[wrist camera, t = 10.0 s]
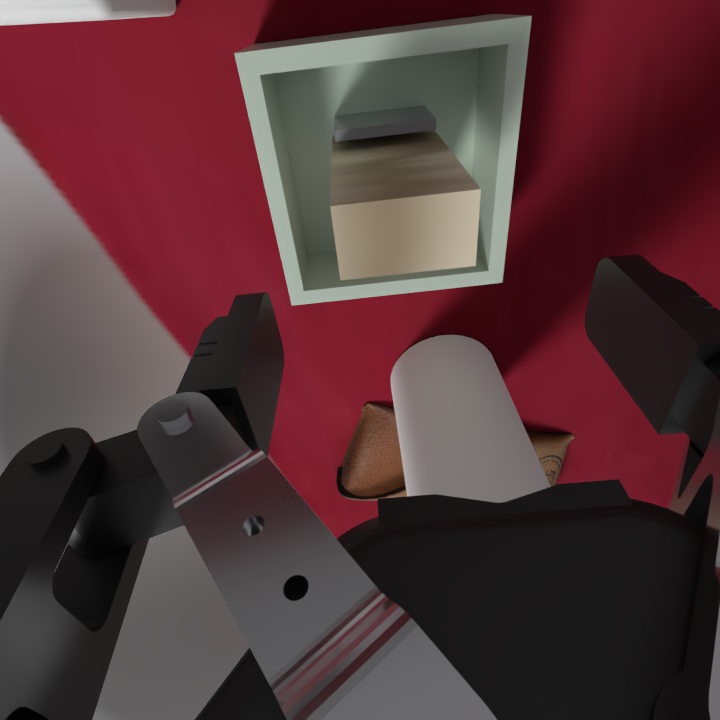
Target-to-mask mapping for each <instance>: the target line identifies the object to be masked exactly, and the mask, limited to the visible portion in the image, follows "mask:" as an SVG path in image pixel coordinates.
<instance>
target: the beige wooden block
mask: <svg viewBox="0 0 720 720" xmlns="http://www.w3.org/2000/svg"><path fill="white" fill-rule="evenodd" d="M480 197H481V189H480V187H479V186H478V185H477V183H476V182H475V181H474V180H473V178H472V177H471V176H470V175H469V173H468V172H467V171H466V169H465V168H464V167H463V166H462V164H461V163H460V162H459V160H458V159H457V158H456V157H455V155H454V154H453V153H452V152H451V150H450V149H449V148H448V146H447V145H446V144H445V143H444V141H443V140H442V139H441V138H440V136H439V135H438V134H437V132H436V131H435V130H431V131H422V132H414V133H406V134H397V135H389V136H380V137H372V138H364V139H355V140H347V141H338V142H336V141H335V137H332V163H331V193H330V209H331V216H332V224H333V231H334V238H335V245H336V252H337V259H338V266H339V273H340V280H350V279H359V278H368V277H378V276H387V275H396V274H406V273H415V272H424V271H433V270H443V269H452V268H461V267H470V266H476V254H477V240H478V226H479V211H480Z"/></svg>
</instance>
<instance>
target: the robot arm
mask: <svg viewBox="0 0 720 720" xmlns="http://www.w3.org/2000/svg"><path fill="white" fill-rule="evenodd" d="M585 329H586V333H587V336H588V338H589V339H590V341H591V342H592V344H593V345H594V346H595V348H596V349H597V350H598V352H599V353H600V355H601V356H602V357H603V359H604V360H605V361H606V363H607V364H608V366H609V367H610V368H611V370H612V371H613V372H614V374H615V375H616V376H617V378H618V379H619V381H620V382H621V383H622V385H623V386H624V387H625V389H626V390H627V392H628V393H629V394H630V396H631V397H632V398H633V400H634V401H635V403H636V404H637V405H638V407H639V408H640V409H641V411H642V412H643V414H644V415H645V416H646V418H647V419H648V420H649V422H650V423H651V424H652V426H653V427H654V429H655V430H656V431H657V433H658V434H659V435H661V434H673V433H686V434H687V435H688V437H689V439H688V441H687V443H686V445H685V447H684V449H683V453H682V457H681V462H680V466H679V470H678V475H677V479H676V483H675V488H674V492H673V496H672V501H671V505H670V509H667V508H664V507H661V506H658V505H655V504H652V503H647V502H643V501H639V500H635V499H630V498H629V496H628V495H627V493H626V491H625V489H624V488H623V486H622V484H621V482H620V481H619V479H618V480H606V481H593V482H581V483H568V484H558V485H555V486H552V487H549V488H546V489H543V490H540V491H537V492H534V493H531V494H528V495H525V496H522V497H519V498H516V499H513V500H510V501H507V502H501V503H495V502H488V501H480V500H473V499H466V498H459V497H452V496H445V495H438V494H431V495H419V496H406V497H394V498H381V499H378V514H379V517H376V518H373V519H370V520H368V521H366V522H363V523H361V524H359V525H357V526H355V527H354V528H352V529H350V530H349V531H347V532H346V533H344V534H342V535H341V536H340V537H339V538H337V539H336V538H335V537H334V535H333V534H332V533H331V532H330V531H329V530H328V528H327V527H326V526H325V525H324V524H323V522H322V521H321V520H320V519H319V518H318V516H317V515H316V514H315V513H314V512H313V510H312V509H311V508H310V507H309V506H308V504H307V503H306V502H305V501H304V500H303V499H302V497H301V496H300V495H299V494H298V493H297V491H296V490H295V489H294V488H293V487H292V485H291V484H290V483H289V482H288V481H287V479H286V478H285V477H284V476H283V475H282V473H281V472H280V471H279V470H278V469H277V468H276V466H275V465H274V464H273V463H272V462H271V460H270V459H269V458H268V452H269V446H270V441H271V435H272V429H273V424H274V418H275V413H276V407H277V402H278V396H279V391H280V385H281V380H282V374H283V368H284V351H283V345H282V341H281V337H280V333H279V329H278V326H277V322H276V318H275V314H274V310H273V307H272V303H271V299H270V297H269V295H268V293H267V292H263V293H254V294H244V295H237V296H236V297H235V299H234V301H233V304H232V306H231V309H230V312H229V314H228V316H223V317H217V318H216V319H215V320H214V321H213V322H212V323H211V324H210V325H209V326H208V327H207V328H206V329H205V330H204V331H203V334H202V336H201V338H200V340H199V343H198V346H197V347H196V349H195V352H194V354H193V358H191V360H190V363H189V365H188V367H187V370H186V372H185V374H184V376H183V378H182V381H181V383H180V385H179V387H178V389H177V392H176V394H175V395H172V396H169V397H167V398H165V399H163V400H161V401H159V402H157V403H156V404H154V405H153V406H152V407H151V408H149V409H148V410H147V411H146V412H145V413H144V415H143V416H142V417H141V419H140V421H139V423H138V427H137V430H134V431H132V432H129V433H125V434H122V435H119V436H117V437H113V438H110V439H107V440H104V441H101V442H98V443H95V442H94V441H93V439H92V438H91V436H90V435H89V434H88V433H87V432H86V431H85V430H83V429H80V428H64V429H59V430H56V431H52V432H50V433H47V434H45V435H43V436H41V437H39V438H37V439H35V440H34V441H32V442H31V443H29V444H28V445H27V446H25V447H24V448H23V449H22V450H20V451H19V452H18V453H17V454H16V455H15V457H14V458H13V459H12V460H11V462H10V463H9V465H8V466H7V467H6V469H5V471H4V472H3V473H2V475H1V476H0V720H92V718H93V715H94V712H95V709H96V706H97V703H98V699H99V696H100V693H101V690H102V686H103V683H104V680H105V677H106V674H107V671H108V667H109V664H110V661H111V658H112V655H113V652H114V648H115V645H116V642H117V639H118V636H119V632H120V629H121V626H122V623H123V620H124V617H125V613H126V610H127V607H128V604H129V601H130V597H131V594H132V591H133V588H134V585H135V582H136V578H137V575H138V572H139V569H140V566H141V562H142V559H143V556H144V553H145V550H146V547H147V543H148V540H149V538H151V537H153V536H156V535H159V534H161V533H164V532H167V531H170V530H172V529H175V528H177V527H180V526H183V525H184V526H185V527H186V529H187V531H188V533H189V535H190V537H191V538H192V540H193V542H194V544H195V546H196V548H197V550H198V552H199V554H200V556H201V557H202V559H203V561H204V563H205V565H206V566H207V569H208V570H209V572H210V574H211V576H212V578H213V580H214V582H215V584H216V585H217V587H218V589H219V591H220V593H221V595H222V597H223V599H224V600H225V602H226V604H227V606H228V608H229V610H230V612H231V613H232V615H233V617H234V619H235V621H236V623H237V625H238V627H239V629H240V630H241V632H242V634H243V636H244V638H245V640H246V642H247V644H248V645H249V649H248V650H247V651H246V653H245V654H244V656H243V657H242V658H241V659H240V661H239V662H238V663H237V665H236V666H235V667H234V669H233V670H232V671H231V673H230V674H229V675H228V676H227V678H226V679H225V681H224V682H223V683H222V685H221V686H220V687H219V688H218V690H217V691H216V692H215V694H214V695H213V696H212V698H211V699H210V700H209V702H208V703H207V704H206V706H205V707H204V708H203V710H202V711H201V713H199V715H198V716H197V717H196V719H195V720H720V311H719V310H718V309H717V308H712V304H710V303H709V302H708V301H707V300H705V299H704V298H703V297H699V294H698V293H697V292H696V291H694V290H693V289H692V288H691V287H689V286H688V285H687V284H686V283H685V282H682V281H680V280H678V279H676V278H673V277H671V276H669V275H666V274H664V273H661V272H660V271H659V270H657V269H656V268H655V267H654V266H653V265H651V264H650V263H649V262H648V261H647V260H645V259H644V258H643V257H642V256H640V255H626V256H617V257H607V258H603V259H601V260H600V262H599V263H598V265H597V268H596V272H595V276H594V280H593V284H592V288H591V292H590V297H589V301H588V305H587V309H586V313H585ZM67 543H68V545H67ZM66 545H67V547H66ZM65 547H66V549H65ZM64 550H65V552H64ZM63 552H64V554H63ZM62 554H63V556H62ZM61 556H62V558H61ZM60 558H61V560H60ZM59 560H60V562H59ZM58 562H59V564H58ZM57 564H58V567H57ZM56 567H57V569H56ZM55 569H56V571H55ZM54 572H55V573H54Z"/></svg>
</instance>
